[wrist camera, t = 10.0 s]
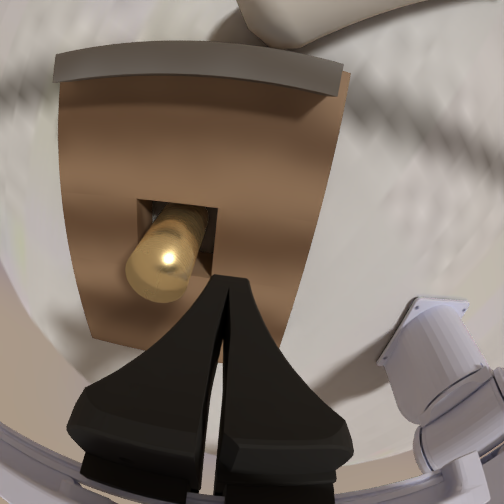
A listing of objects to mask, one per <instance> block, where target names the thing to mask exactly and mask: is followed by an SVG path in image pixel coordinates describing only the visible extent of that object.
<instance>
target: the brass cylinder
mask: <svg viewBox="0 0 504 504" xmlns="http://www.w3.org/2000/svg"><path fill="white" fill-rule="evenodd" d="M208 222H209V216H208V212H207V209H206V208H205V206H198V205H190V204H181V203H172V202H168V204H167V205H166V206H165V208H164V209H163V210H162V212H161V213H160V214H159V216H158V217H157V218H156V220H155V221H154V223H153V224H152V225H151V227H150V228H149V230H148V231H147V232H146V234H145V235H144V237H143V238H142V239H141V241H140V242H139V244H138V245H137V247H136V248H135V250H134V251H133V253H132V254H131V256H130V257H129V259H128V261H127V263H126V267H125V272H126V277H127V280H128V282H129V284H130V285H131V287H132V288H133V289H134V290H135V291H136V292H137V293H138V294H139V295H140V296H142V297H144V298H145V299H148V300H150V301H153V302H157V303H169V302H173V301H175V300H177V299H179V298H180V297H181V296H182V295H183V294H184V293H185V291H186V289H187V286H188V282H189V279H190V276H191V273H192V270H193V267H194V264H195V261H196V258H197V255H198V252H199V249H200V246H201V243H202V240H203V237H204V234H205V231H206V228H207V225H208Z"/></svg>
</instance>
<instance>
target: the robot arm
mask: <svg viewBox="0 0 504 504" xmlns="http://www.w3.org/2000/svg"><path fill="white" fill-rule="evenodd" d="M468 307H469V302H468V301H464V300H450V299H437V298H425V297H418V298H416V299H415V300H414V301H413V303H412V305H411V307H410V309H409V310H408V312H407V314H406V316H405V317H404V319H403V321H402V323H401V324H400V326H399V328H398V329H397V331H396V333H395V334H394V336H393V337H392V339H391V341H390V342H389V344H388V345H387V347H386V348H385V350H384V351H383V353H382V355H381V356H380V358H379V359H378V360H377V362H376V363H377V366H384V367H385V370H386V373H387V376H388V379H389V382H390V385H391V388H392V391H393V394H394V397H395V400H396V403H397V406H398V409H399V410H400V412H401V414H402V415H403V416H404V417H405V418H406V419H407V420H408V421H410V422H412V423H414V424H419V425H420V426H419V427H418V428H417V429H416V431H415V434H414V439H413V452H414V457H415V460H416V463H417V465H418V467H419V469H420V470H421V472H422V473H423V475H420V476H417V477H413V478H410V479H406V480H403V481H399V482H395V483H391V484H387V485H383V486H379V487H374V488H369V489H364V490H359V491H353V492H346V493H340V494H334V487H333V483H334V482H336V479H337V478H336V469H338V468H339V467H341V466H342V465H343V464H345V463H346V462H347V461H348V460H349V459H350V458H351V457H352V456H353V453H354V449H353V443H352V439H351V436H350V433H349V430H348V427H347V424H346V421H345V420H344V419H343V418H342V417H341V416H339V415H338V414H337V413H336V412H335V411H333V410H332V409H331V408H330V407H329V406H328V405H326V404H325V403H324V402H323V401H322V400H321V399H320V398H319V397H318V396H317V395H316V394H315V393H314V392H313V391H312V390H311V389H310V388H309V387H308V385H307V384H306V383H305V382H304V381H303V380H302V378H301V377H300V376H299V375H298V374H297V373H296V371H295V370H294V369H293V368H292V366H291V365H290V364H289V362H288V361H287V360H286V358H285V357H284V355H283V354H282V352H281V351H280V349H279V348H278V346H277V345H276V343H275V341H274V340H273V338H272V336H271V334H270V332H269V331H268V329H267V327H266V325H265V323H264V321H263V319H262V316H261V314H260V312H259V310H258V307H257V305H256V302H255V299H254V296H253V293H252V290H251V286H250V281H249V280H248V279H247V278H241V277H233V276H225V275H218V274H214V275H212V276H211V277H210V279H209V281H208V283H207V285H206V286H205V288H204V289H203V291H202V292H201V294H200V295H199V297H198V298H197V299H196V300H195V302H194V303H193V304H192V306H191V307H190V308H189V309H188V311H187V312H186V313H185V314H184V315H183V316H182V317H181V318H180V320H179V321H178V322H177V323H176V324H175V325H174V326H173V327H172V328H171V329H170V330H169V331H168V332H167V333H166V334H165V335H164V336H163V337H162V338H160V339H159V340H158V341H157V342H156V343H155V344H153V345H152V346H151V347H150V348H149V349H147V350H146V351H145V352H144V353H142V354H141V355H140V356H138V357H137V358H135V359H134V360H132V361H131V362H129V363H128V364H126V365H125V366H123V367H122V368H120V369H119V370H117V371H115V372H114V373H112V374H110V375H108V376H107V377H105V378H103V379H101V380H99V381H97V382H95V383H93V384H91V385H89V386H88V387H85V389H84V390H83V392H82V394H81V395H80V397H79V399H78V400H77V402H76V404H75V406H74V409H73V411H72V414H71V416H70V419H69V421H68V424H67V432H68V434H69V435H70V436H71V438H72V439H73V440H74V441H75V442H76V443H77V444H78V445H79V446H80V447H81V448H82V449H83V450H84V451H85V456H84V459H83V462H82V463H80V462H77V461H75V460H72V459H70V458H68V457H65V456H63V455H61V454H58V453H56V452H54V451H52V450H50V449H48V448H46V447H44V446H42V445H40V444H38V443H36V442H34V441H32V440H30V439H29V438H27V437H25V436H23V435H21V434H20V433H18V432H16V431H15V430H13V429H11V428H10V427H8V426H6V425H5V424H3V423H2V422H0V497H2V498H3V499H4V500H6V501H7V502H8V503H9V504H117V503H115V502H113V501H111V500H110V499H109V498H107V497H104V496H102V495H99V494H97V493H94V492H92V491H89V490H87V489H85V488H83V487H82V486H81V485H80V483H81V484H84V485H87V486H89V487H91V488H94V489H97V490H100V491H102V492H106V493H108V494H111V495H114V496H118V497H121V498H124V499H128V500H131V501H134V502H138V503H142V504H504V444H503V445H501V446H500V447H498V448H497V449H495V450H494V451H492V452H491V453H489V454H488V455H487V456H485V457H483V458H482V459H480V458H479V457H481V456H482V455H484V454H486V453H487V452H489V451H490V450H492V449H493V448H494V447H496V446H498V445H499V444H500V443H502V442H503V441H504V368H501V367H497V368H496V369H495V370H494V371H493V370H492V369H491V368H490V366H489V364H488V362H487V361H486V359H485V357H484V355H483V354H482V352H481V350H480V349H479V347H478V345H477V344H476V342H475V340H474V339H473V337H472V335H471V334H470V332H469V331H468V329H467V327H466V326H465V324H464V323H463V321H462V320H461V318H462V317H463V315H464V313H465V312H466V310H467V309H468ZM222 342H223V394H222V407H221V417H220V427H219V438H218V449H217V459H216V470H215V481H214V492H213V495H204V494H199V490H200V489H201V482H202V470H203V459H204V451H205V441H206V431H207V422H208V414H209V405H210V397H211V391H212V386H213V381H214V377H215V373H216V368H217V364H218V360H219V355H220V351H221V346H222ZM78 482H79V483H78Z"/></svg>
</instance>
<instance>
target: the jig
mask: <svg viewBox="0 0 504 504" xmlns="http://www.w3.org/2000/svg"><path fill="white" fill-rule="evenodd" d="M343 65H344V64H341V63H337V62H334V61H330V60H326V59H322V58H318V57H314V56H310V55H305V54H301V53H296V52H291V51H285V50H280V49H274V48H268V47H261V46H254V45H245V44H236V43H225V42H210V41H147V42H132V43H122V44H113V45H105V46H98V47H91V48H85V49H80V50H74V51H69V52H65V53H60V54H56V57H55V65H54V74H53V83H57V82H60V94H59V115H58V149H59V171H60V184H61V195H62V204H63V212H64V219H65V226H66V233H67V239H68V244H69V250H70V255H71V260H72V265H73V269H74V274H75V278H76V282H77V287H78V291H79V294H80V298H81V302H82V306H83V309H84V313H85V316H86V319H87V323H88V326H89V329H90V332H91V335H92V338H95V339H99V340H103V341H107V342H111V343H115V344H119V345H123V346H128V347H132V348H137V349H141V350H147V349H149V348H150V347H151V346H152V345H153V344H155V343H156V342H157V341H158V340H159V339H160V338H162V337H163V336H164V335H165V334H166V333H167V332H168V331H169V330H170V329H171V328H172V327H173V326H174V325H175V324H176V323H177V322H178V321H179V320H180V318H181V317H182V316H183V315H184V314H185V313H186V312H187V311H188V309H189V308H190V307H191V306H192V304H193V303H194V302H195V300H196V299H197V298H198V297H199V295H200V294H201V292H202V291H203V289H204V288H205V286H206V285H207V283H208V281H209V279H210V277H211V276H212V275H214V274H218V275H225V276H233V277H241V278H247V279H248V280H249V281H250V286H251V290H252V293H253V296H254V299H255V302H256V305H257V307H258V310H259V312H260V314H261V316H262V319H263V321H264V323H265V325H266V327H267V329H268V331H269V332H270V334H271V336H272V338H273V340H274V341H275V343H276V345H277V346H278V348H279V347H280V344H281V341H282V338H283V335H284V332H285V329H286V326H287V323H288V319H289V316H290V313H291V310H292V307H293V304H294V300H295V297H296V294H297V291H298V287H299V284H300V281H301V278H302V274H303V271H304V267H305V264H306V260H307V257H308V254H309V250H310V246H311V243H312V239H313V236H314V232H315V228H316V225H317V221H318V217H319V213H320V210H321V206H322V202H323V198H324V194H325V190H326V186H327V182H328V178H329V174H330V170H331V165H332V161H333V157H334V153H335V148H336V144H337V139H338V135H339V130H340V125H341V121H342V116H343V111H344V106H345V101H346V96H347V91H348V86H349V80H350V75H351V73H348V72H345V71H342V70H343ZM153 200H154V201H164V202H172V203H181V204H190V205H198V206H206V207H214V208H218V214H217V223H216V233H215V243H214V254H213V253H205V252H198V255H197V258H196V261H195V264H194V267H193V270H192V273H191V276H190V279H189V282H188V286H187V289H186V291H185V293H184V294H183V295H182V296H181V297H180V298H179V299H177V300H175V301H173V302H169V303H157V302H153V301H150V300H148V299H145V298H144V297H142V296H140V295H139V294H138V293H137V292H136V291H135V290H134V289H133V288H132V287H131V285H130V284H129V282H128V280H127V277H126V272H125V267H126V263H127V261H128V259H129V257H130V256H131V254H132V253H133V251H134V250H135V248H136V247H137V245H138V244H139V242H140V241H141V239H142V238H143V237H144V235H145V234H146V232H147V231H148V230H149V228H150V227H151V225H152V224H153V217H152V209H153ZM218 363H223V342H222V346H221V351H220V355H219V360H218Z"/></svg>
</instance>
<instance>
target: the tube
mask: <svg viewBox="0 0 504 504" xmlns="http://www.w3.org/2000/svg"><path fill="white" fill-rule="evenodd" d="M236 1H237V3H238V6H239V8H240V10H241V13H242V15H243V17H244V20H245V22H246V25H247V27H248V29H249V30H250V31H251V32H253V33H254V34H255V35H256V36H257V37H259V38H260V39H261V40H262V41H263V42H264V43H266V44H267V45H268V46H269V47H270V48H274V49H280V50H283V49H296V48H301V47H303V46H305V45H307V44H309V43H311V42H313V41H315V40H317V39H319V38H321V37H324V36H326V35H328V34H330V33H332V32H335V31H337V30H339V29H342V28H344V27H347V26H349V25H352V24H354V23H357V22H359V21H362V20H365V19H367V18H370V17H373V16H376V15H378V14H381V13H384V12H387V11H391V10H394V9H397V8H400V7H404V6H407V5H411V4H414V3H418V2H422V1H426V0H236Z"/></svg>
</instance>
